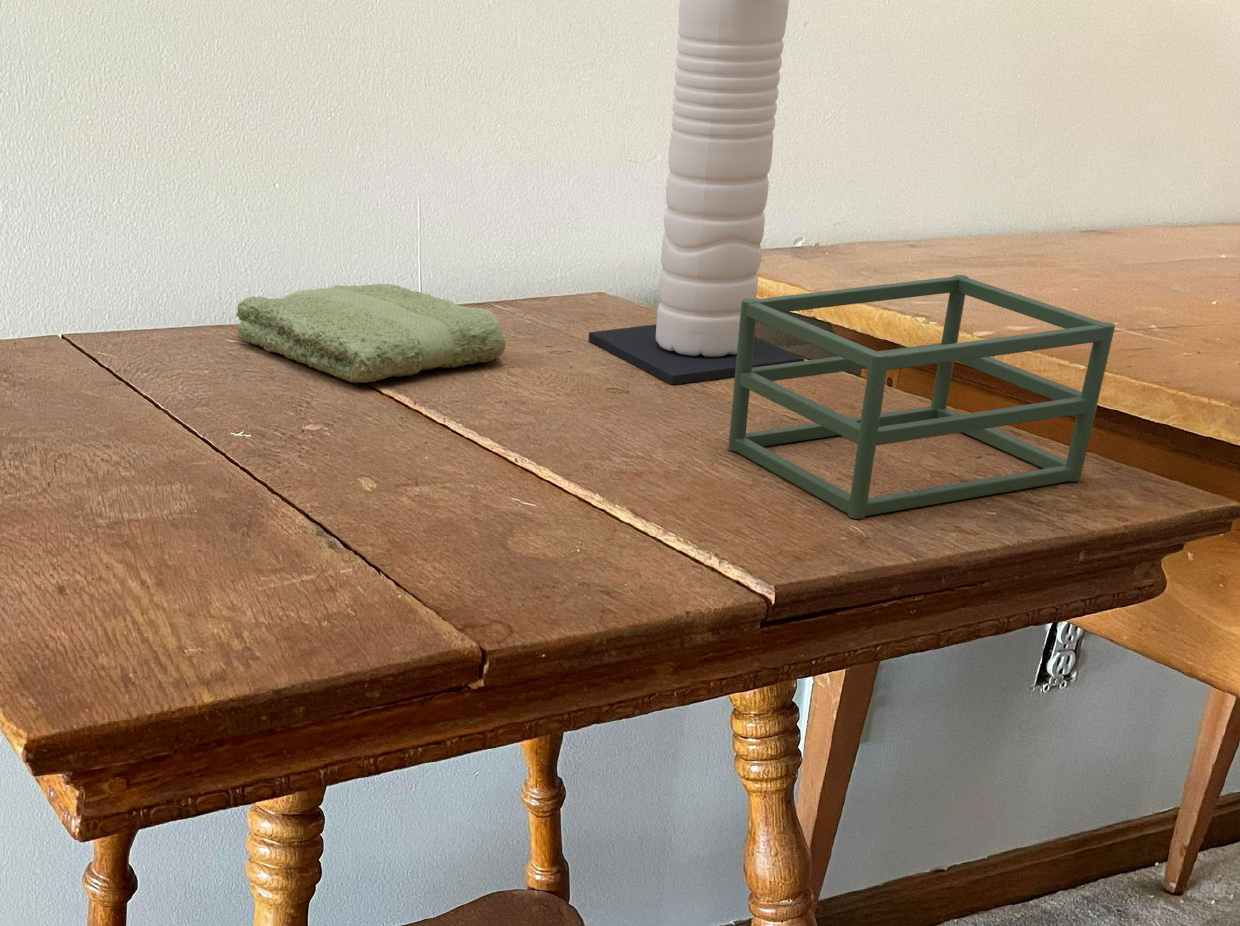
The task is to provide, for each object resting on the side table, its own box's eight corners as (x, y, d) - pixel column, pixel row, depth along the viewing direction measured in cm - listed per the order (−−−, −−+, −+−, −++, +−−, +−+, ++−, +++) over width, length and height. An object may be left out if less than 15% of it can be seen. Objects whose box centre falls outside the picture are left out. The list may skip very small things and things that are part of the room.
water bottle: (770, 345, 104) (823, -109, 88) (710, 364, 100) (754, -106, 85) (671, 319, 109) (705, -116, 93) (610, 336, 105) (635, -113, 89)
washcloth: (382, 311, 114) (380, 264, 112) (518, 364, 102) (519, 312, 101) (223, 337, 108) (218, 288, 106) (349, 396, 97) (345, 342, 95)
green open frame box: (1083, 480, 83) (1119, 325, 79) (854, 520, 79) (877, 357, 74) (938, 416, 93) (962, 273, 88) (725, 448, 88) (738, 299, 83)
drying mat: (803, 367, 102) (804, 358, 101) (671, 385, 98) (672, 375, 98) (712, 326, 110) (712, 317, 110) (588, 341, 107) (588, 331, 107)
